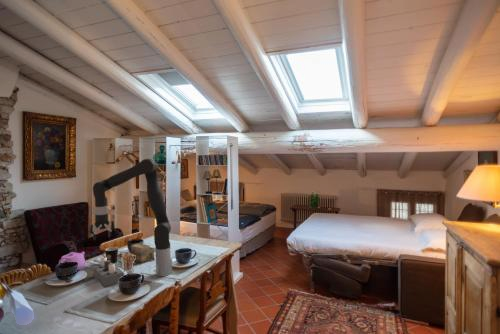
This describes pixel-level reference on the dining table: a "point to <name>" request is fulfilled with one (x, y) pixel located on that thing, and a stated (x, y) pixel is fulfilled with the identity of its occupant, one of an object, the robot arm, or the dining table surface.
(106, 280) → the console
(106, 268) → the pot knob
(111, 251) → the coffee mug
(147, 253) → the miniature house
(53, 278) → the dining table surface
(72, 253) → the teapot
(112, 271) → the knob
